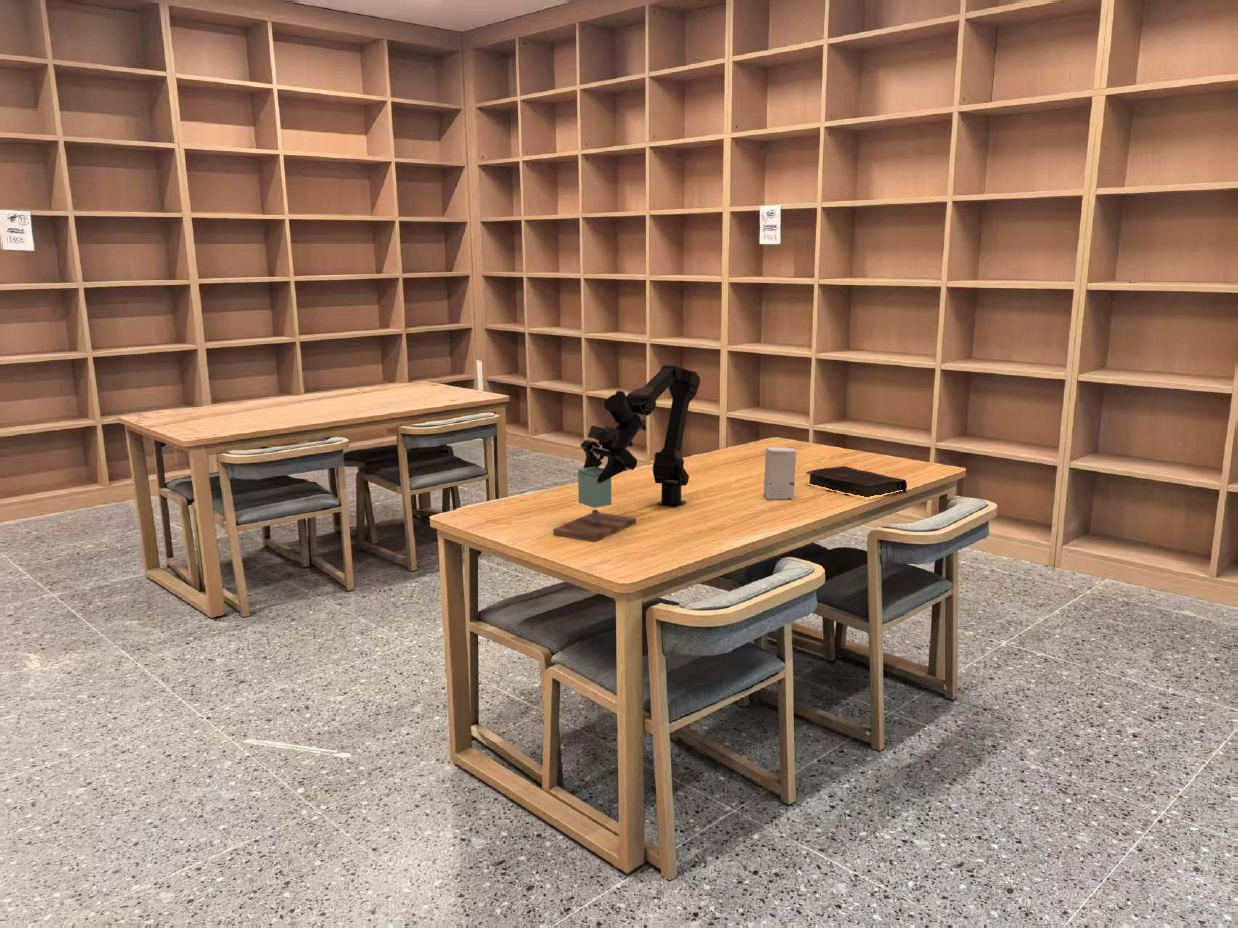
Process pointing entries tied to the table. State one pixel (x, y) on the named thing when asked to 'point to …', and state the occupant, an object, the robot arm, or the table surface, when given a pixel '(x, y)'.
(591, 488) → the seafoam square prism
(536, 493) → the table surface
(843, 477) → the diary
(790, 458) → the skincare box
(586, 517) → the stud board
